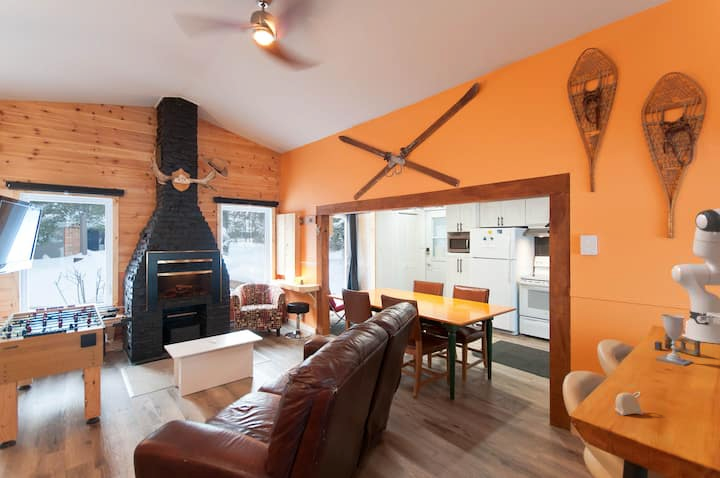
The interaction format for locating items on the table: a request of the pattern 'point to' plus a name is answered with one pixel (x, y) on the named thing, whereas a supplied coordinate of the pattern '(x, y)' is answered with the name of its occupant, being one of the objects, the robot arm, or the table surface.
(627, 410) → the decorative ornament
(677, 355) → the chalice
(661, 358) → the coaster
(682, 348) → the gate leaf
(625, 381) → the table surface
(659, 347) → the latch block
